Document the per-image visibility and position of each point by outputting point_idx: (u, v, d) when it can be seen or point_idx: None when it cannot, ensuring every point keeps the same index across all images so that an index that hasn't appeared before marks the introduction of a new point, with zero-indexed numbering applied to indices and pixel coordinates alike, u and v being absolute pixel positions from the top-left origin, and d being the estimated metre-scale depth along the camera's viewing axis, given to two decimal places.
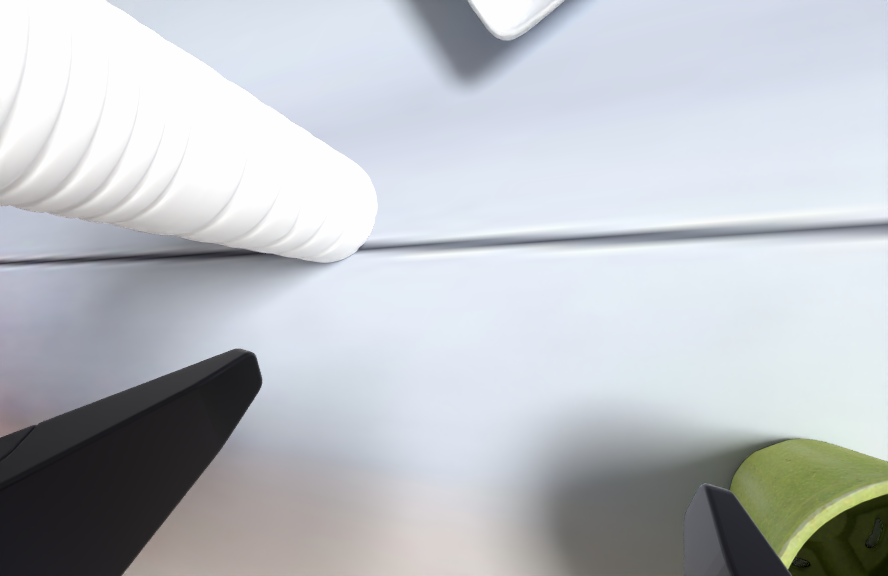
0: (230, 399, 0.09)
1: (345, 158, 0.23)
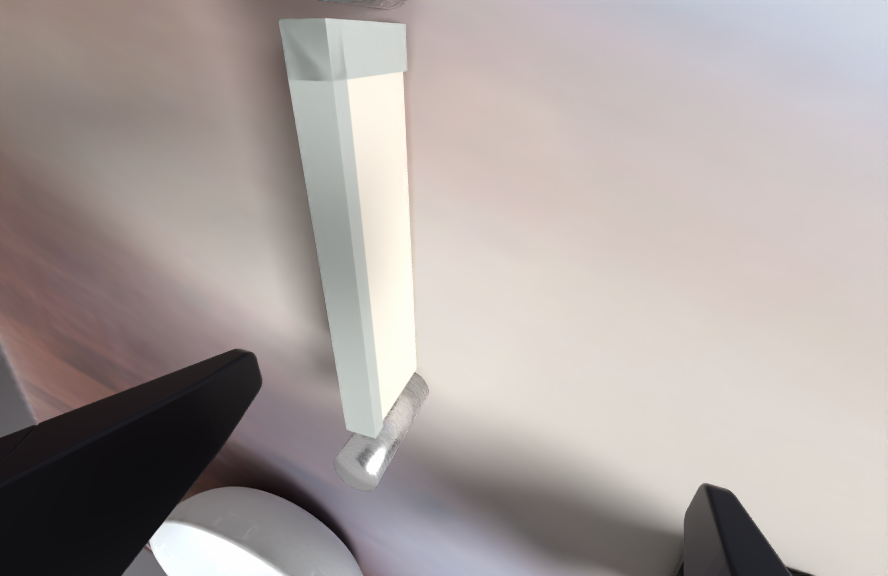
0: (230, 399, 0.09)
1: None
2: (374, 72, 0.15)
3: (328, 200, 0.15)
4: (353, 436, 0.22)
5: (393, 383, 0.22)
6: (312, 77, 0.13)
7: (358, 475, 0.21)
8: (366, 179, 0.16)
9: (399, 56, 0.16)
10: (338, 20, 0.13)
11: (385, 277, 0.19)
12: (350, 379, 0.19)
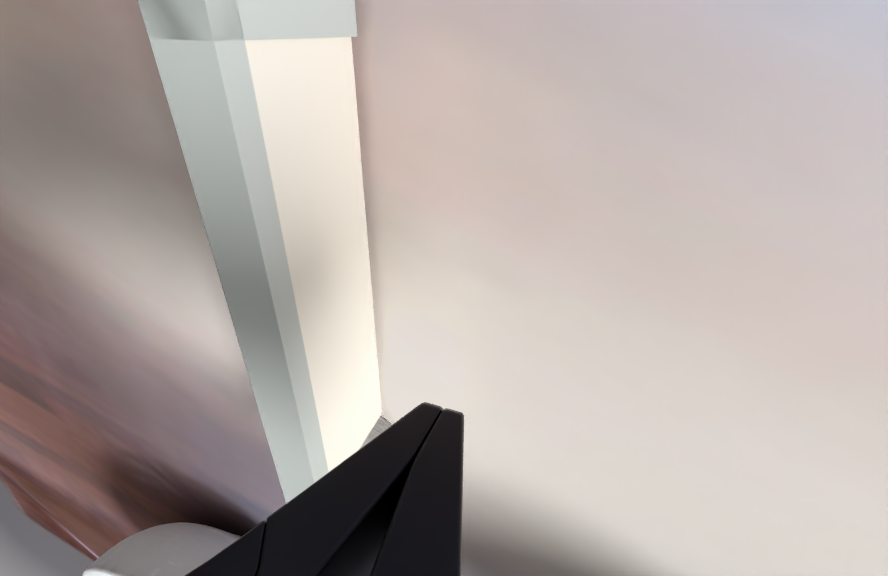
0: None
1: None
2: (298, 33, 0.10)
3: (230, 223, 0.10)
4: None
5: (348, 441, 0.17)
6: (183, 34, 0.08)
7: None
8: (293, 191, 0.11)
9: (343, 13, 0.11)
10: None
11: (330, 317, 0.14)
12: (284, 449, 0.14)
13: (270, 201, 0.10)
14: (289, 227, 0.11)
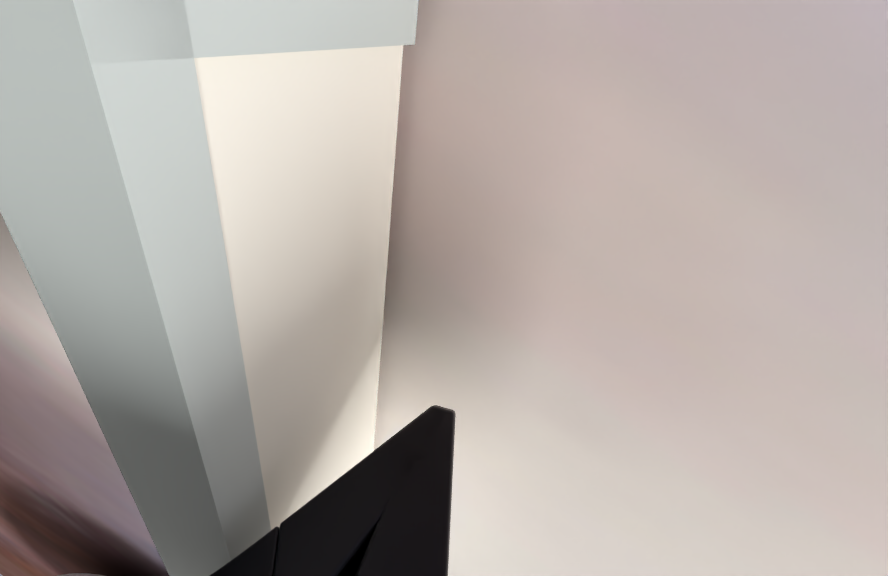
0: None
1: None
2: (323, 40, 0.05)
3: (143, 421, 0.05)
4: None
5: None
6: (2, 30, 0.03)
7: None
8: (281, 328, 0.06)
9: (401, 3, 0.06)
10: None
11: (319, 474, 0.09)
12: None
13: (234, 379, 0.05)
14: (267, 391, 0.06)
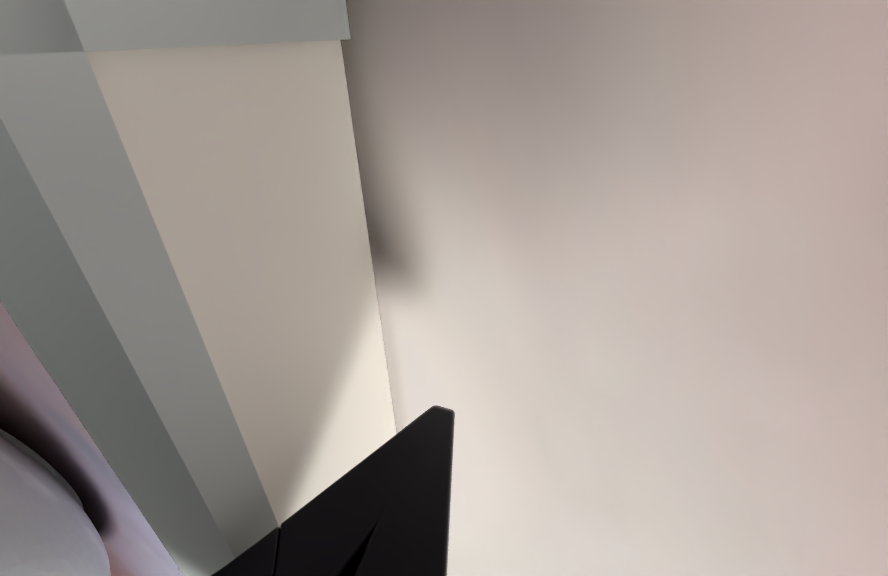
0: None
1: None
2: (235, 34, 0.05)
3: (120, 421, 0.05)
4: None
5: None
6: None
7: None
8: (252, 323, 0.06)
9: None
10: None
11: (335, 479, 0.09)
12: None
13: (199, 370, 0.05)
14: (249, 387, 0.06)
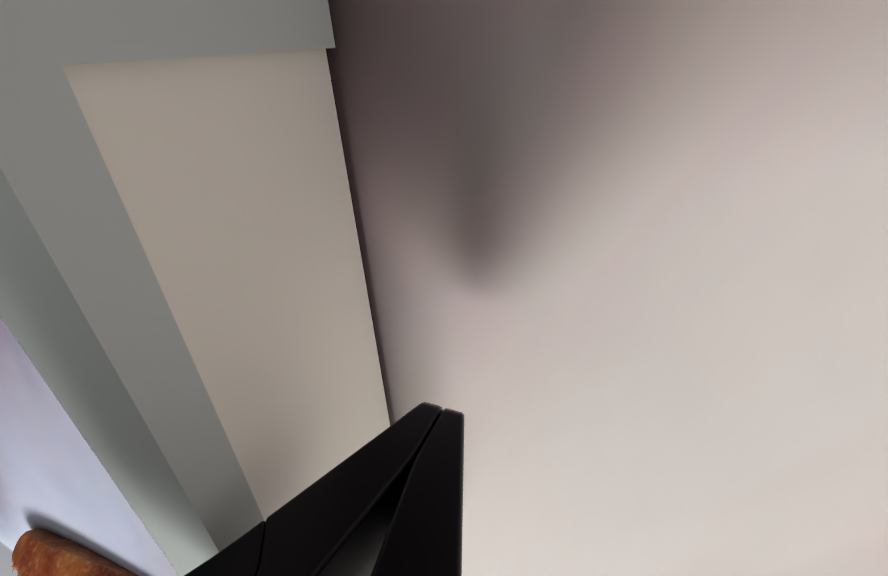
0: None
1: None
2: (214, 46, 0.05)
3: (105, 417, 0.05)
4: None
5: None
6: None
7: None
8: (236, 323, 0.06)
9: (306, 10, 0.07)
10: None
11: None
12: None
13: (180, 368, 0.05)
14: (234, 386, 0.06)
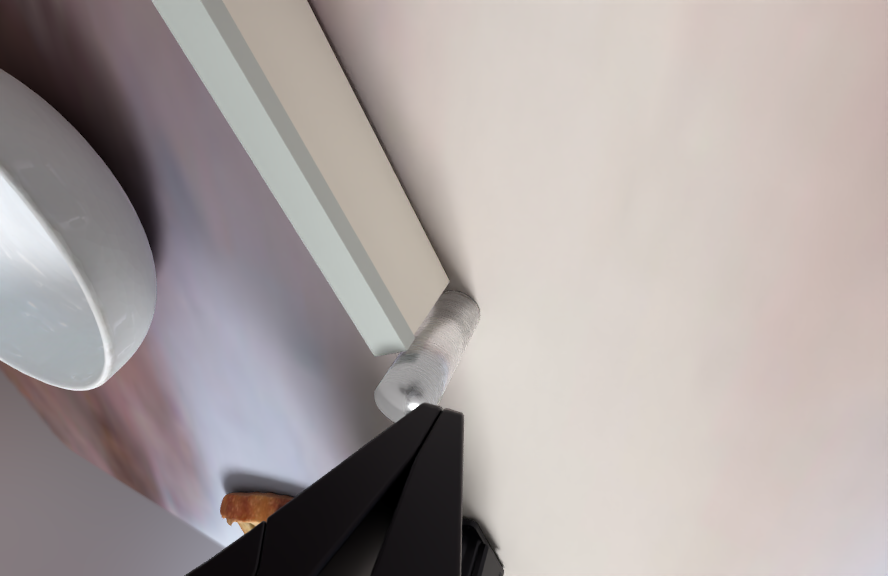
0: None
1: None
2: None
3: (199, 37, 0.12)
4: (427, 366, 0.17)
5: (413, 289, 0.18)
6: None
7: (402, 409, 0.16)
8: (247, 15, 0.13)
9: None
10: None
11: (337, 148, 0.16)
12: (341, 279, 0.15)
13: (221, 7, 0.12)
14: (254, 45, 0.13)
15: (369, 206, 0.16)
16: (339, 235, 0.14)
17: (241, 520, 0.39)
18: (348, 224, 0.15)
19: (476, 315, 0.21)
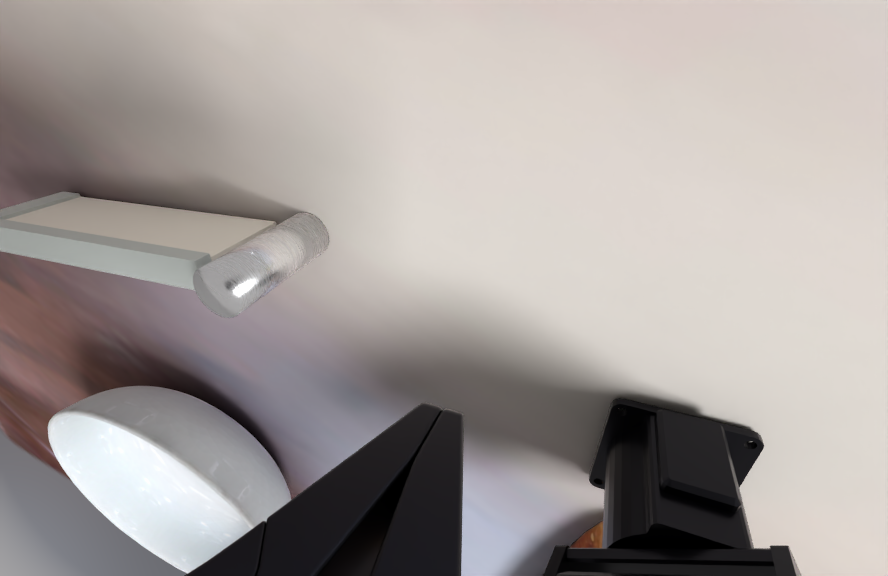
0: None
1: None
2: (31, 207, 0.26)
3: (30, 244, 0.23)
4: (219, 257, 0.19)
5: (217, 239, 0.21)
6: None
7: (220, 295, 0.18)
8: (57, 222, 0.24)
9: (62, 196, 0.27)
10: None
11: (128, 225, 0.23)
12: (145, 269, 0.20)
13: (31, 225, 0.23)
14: (59, 226, 0.23)
15: (161, 230, 0.22)
16: (115, 247, 0.20)
17: None
18: (127, 241, 0.21)
19: (303, 216, 0.22)
